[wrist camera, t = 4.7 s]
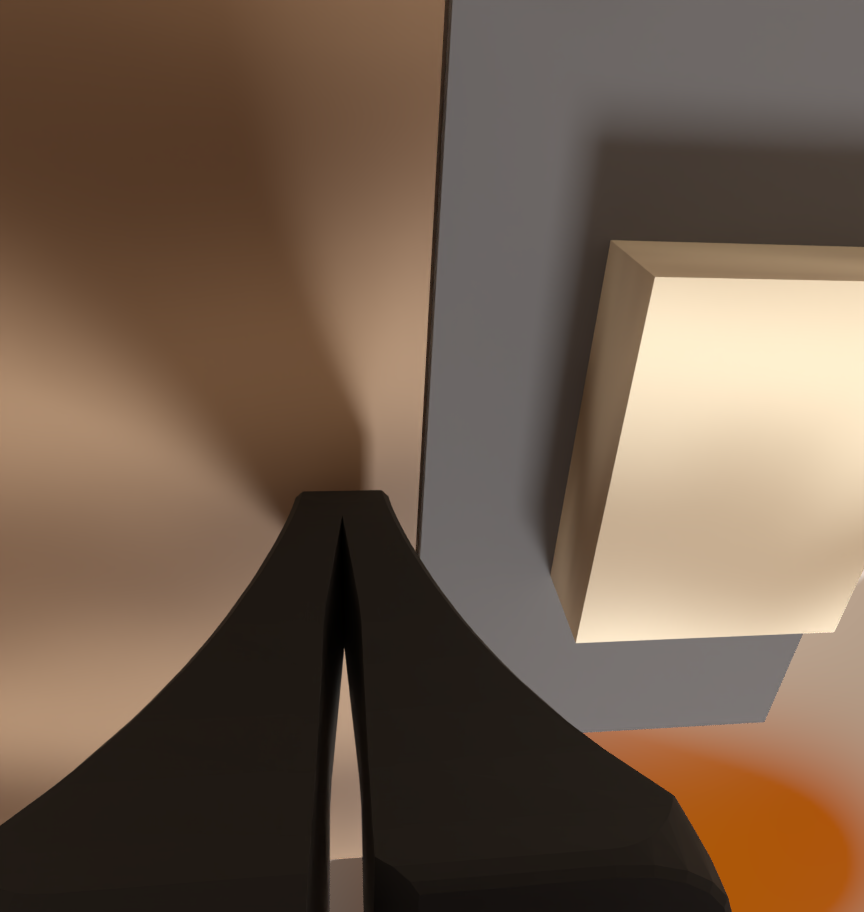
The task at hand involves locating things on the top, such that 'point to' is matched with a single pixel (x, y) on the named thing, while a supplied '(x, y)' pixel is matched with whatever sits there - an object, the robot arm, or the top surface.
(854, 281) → the birch tile
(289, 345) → the walnut deck
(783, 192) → the rubber mat
